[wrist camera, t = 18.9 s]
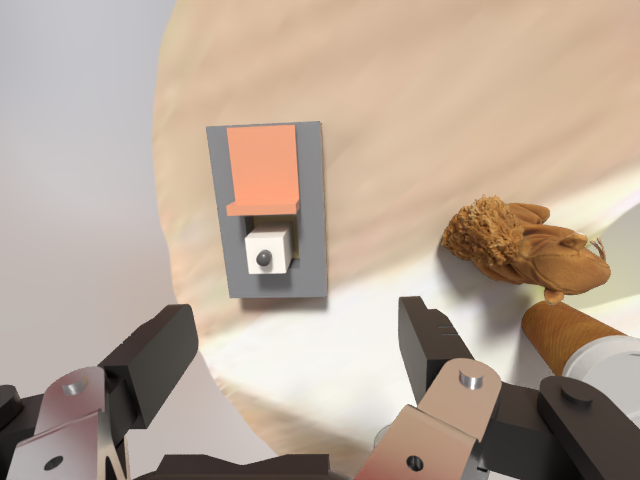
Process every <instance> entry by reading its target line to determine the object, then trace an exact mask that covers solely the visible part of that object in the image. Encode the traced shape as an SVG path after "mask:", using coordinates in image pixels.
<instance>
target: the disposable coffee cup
mask: <svg viewBox="0 0 640 480" xmlns="http://www.w3.org/2000/svg"><path fill="white" fill-rule="evenodd" d="M522 328H523V331H524V333H525V334H526V335H527V337H528V338H529V340H530V341H531V342H532V344H533V345H534V347H535V348H536V349H537V351H538V352H539V354H540V355H541V356H542V358H543V359H544V361H545V362H546V363H547V365H548V366H549V367H550V369H551V370H552V372H553V373H554V374H555V376H564V377H570V378H574V379H577V380H580V381H583V382H585V383H587V384H589V385H591V386H593V387H595V388H596V389H598V390H600V391H601V392H602V393H604V394H605V395H606V396H607V397H608V398H609V399H610V400H611V401H612V402H613V403H614V404H615V405H616V406H617V407H618V408H619V409H620V410H621V411H622V412H623V413H624V414H625V415H626V416H627V417H628V418H629V419H630V420H631V421H632V420H636V419H639V418H640V339H639V338H634V337H630V336H628V335H626V334H624V333H622V332H620V331H618V330H616V329H614V328H612V327H610V326H608V325H606V324H604V323H602V322H600V321H598V320H596V319H594V318H592V317H590V316H588V315H586V314H584V313H582V312H580V311H578V310H576V309H574V308H572V307H570V306H568V305H567V304H565V303H563V302H559V303H557V304H555V305H550V304H548V303H547V302H546V301H541V302H539V303H537V304H535V305H533V306H532V307H531V308H530V309H528V310H527V312H526V313H525V315H524V317H523V320H522Z"/></svg>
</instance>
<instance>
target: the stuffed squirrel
mask: <svg viewBox="0 0 640 480" xmlns="http://www.w3.org/2000/svg"><path fill="white" fill-rule="evenodd" d="M475 201H476V205H475V203H473V204H472V205H471V206H468V207H465V206H464V207H463V208H461V210H460V211H459V213H458V214H456V215H455V216H454V217H453V218H452V220H451V221H450V222H449V227H447V228H446V229H445V231H444V235H443V236H442V237H443V238H442V239H443V240H442V244H441V245H444V247H445V248H448V249H450V250H451V252H452V254H453V255H456V256H457V257H458V258H459V257H460V258H461V259H462V260H471V261H472V262H473V263H474V264H475V265H476V267H477V268H478V269H479V270H480V271H481V272H482V273H483V274H485V275H486V276H488V277H489V278H491V279H492V280H496V281H506V282H509V283H512V284H519V285H520V284H523V283H527V284H535V285H540V286H543V287H545V290H544V296H545V300H546V302H547V303H548V304H550V305H555V304H557V303H559V302H560V301H561V300H563V298H564V295H578V294H582V293H585V292H587V291H589V290H590V289H593V288H595V287H598V286H600V285H602V284H605V283H606V282H607V280H608V279H609V277H610V275H611V270H610V269H609V268H610V267H609V266H608V264H607V263H606V256H605V251H604V247H603V245H602V243H601V240H600V237H597V240H598V242H599V244H600V245H601V246H602V250H603V252H602V250H601V249H600V247H599V246H598V245H597V244H596V243H595V242H594V241H590V243H592V244H593V245H594V246H595V247H596V248H597V249H598V250H599V253H600V257H599V256H597V255H595V254H594V253H592V252H590V251H589V250H588V249H586V248H585V247H584V246H585V245H586V243H587V237H586V235H585V234H583V233H580V232H574V231H572V230H570V229H567V228H562V227H557V226H549V225H542V224H543V223H544V222H545V221H546V220H547V219H548V218H549V216H550V210H549V209H548V208H545V207H542V206H538V205H531V204H520V203H510V204H504V203H503V202H502V201H501V200H500V197H497V196H496V195H495V196H494V197H492V198H491V197H489V199H488V198H485V194H483V196H482V200H481V199H479V200H478V201H477V200H476V199H475Z"/></svg>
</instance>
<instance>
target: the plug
mask: <svg viewBox="0 0 640 480" xmlns="http://www.w3.org/2000/svg"><path fill="white" fill-rule="evenodd" d="M245 244H246V253H247V261H248V270H249V274H271V273H286V272H287V269H288V267H289V264H290V262H291V259H292V257H293V254H294V252H295V251H294V237H293V223H292V221H283V222H260V223H259V224H258V225H257V226H256V227H255V228H254V229H253V230H252V231H251V233H250V234H249V235H248V236H247V237H246V238H245Z"/></svg>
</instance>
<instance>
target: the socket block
mask: <svg viewBox="0 0 640 480" xmlns="http://www.w3.org/2000/svg"><path fill="white" fill-rule="evenodd" d="M277 125H295V127H296V144H297V160H298V176H299V193H300V203H299V204H300V208H299V210H298V212H297V213H296V214H275V215H241V216H227V210H226V206H227V205H229V204H231V203H232V202H234V201H235V193H234V185H233V177H232V169H231V161H230V152H229V144H228V136H227V128H236V127H257V126H277ZM206 132H207V139H208V146H209V153H210V160H211V167H212V174H213V181H214V189H215V196H216V203H217V210H218V217H219V224H220V231H221V238H222V246H223V253H224V260H225V267H226V274H227V281H228V288H229V295H230V298H285V297H327V285H328V279H327V253H326V226H325V199H324V173H323V146H322V123H321V122H320V121H315V122H294V123H273V124H252V125H232V126H211V127H206ZM283 221H292V223H293V237H294V251H295V252H294V254H293V257H292V259H291V262H290V264H289V267H288V269H287V272H286V273H271V274H249V270H248V261H247V253H246V244H245V238H246V237H247V236H248V235H249V234H250V233H251V231H252V230H253V229H254V228H255V227H256V226H257V225H258V224H259V223H260V222H283Z"/></svg>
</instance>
